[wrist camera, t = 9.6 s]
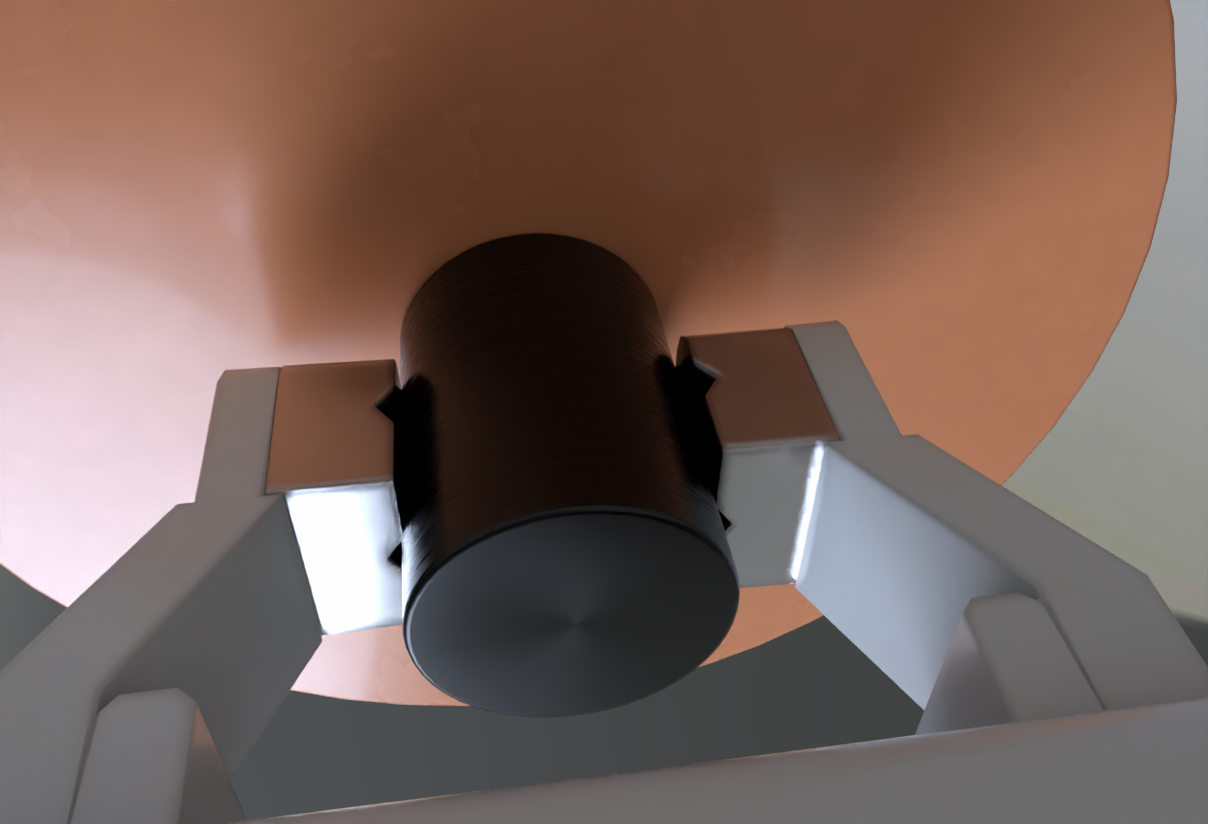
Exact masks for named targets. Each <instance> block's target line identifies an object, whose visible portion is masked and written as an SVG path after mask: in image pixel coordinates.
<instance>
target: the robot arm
mask: <svg viewBox="0 0 1208 824" xmlns="http://www.w3.org/2000/svg"><path fill="white" fill-rule="evenodd" d="M675 368H676V372H677V375H678V378H679V381H680V385H681V388H682V391H683V395H684V398H685V401H686V405H687V408H688V411H689V415H690V418H691V421H692V425H693V428H694V431H695V434H696V438H697V441H698V444H699V448H700V451H701V454H702V458H703V461H704V464H705V468H706V471H707V474H708V478H709V481H710V484H711V487H712V491H713V494H714V497H715V501H716V504H717V507H718V511H719V514H720V517H721V521H722V524H723V527H724V531H725V534H726V537H727V540H728V544H729V547H730V550H731V554H732V557H733V560H734V564H735V567H736V570H737V574H738V577H739V585H740V588H749V587H761V586H773V585H785V584H796V586H795V588H796V589H797V590H798V591H799V592H800V593H801V594H802V595H803V596H804V597H805V598H806V599H808V600H809V601H810V602H811V603H812V604H813V605H814V606H815V607H816V608H817V609H818V610H819V611H820V612H821V613H822V614H823V615H824V616H825V617H827V618H828V619H829V620H830V621H831V622H832V623H833V624H834V625H835V626H836V627H837V628H838V629H839V630H840V631H841V632H843V634H844V635H845V636H847V637H848V638H849V639H850V640H851V641H852V642H853V643H854V644H855V645H856V646H857V647H858V648H859V649H860V650H861V651H862V652H863V653H865V654H866V655H867V656H868V657H869V658H870V659H871V660H872V661H873V662H874V663H875V664H876V665H877V666H878V667H879V668H880V669H881V670H882V671H884V672H885V673H886V674H887V675H888V676H889V677H890V678H891V679H892V680H893V681H894V682H895V683H896V684H897V685H898V686H899V687H900V688H901V689H903V691H905V692H906V693H907V694H908V695H909V696H910V697H911V698H912V699H913V700H914V701H915V702H916V703H917V704H918V705H919V706H920V707H922V708H923V710H924V713H923V716H922V718H921V721H920V723H919V726H918V728H917V731H916V733H915V735H913V736H905V737H898V738H890V739H882V740H874V741H867V742H859V743H851V744H843V745H836V746H828V747H820V748H813V749H805V750H797V751H789V752H782V753H774V754H766V755H758V756H751V757H743V758H736V759H727V760H719V761H711V762H704V763H696V764H688V765H680V766H672V767H664V768H656V769H649V770H641V771H633V772H625V773H617V774H609V775H602V776H593V777H585V778H577V779H570V780H562V781H554V782H546V783H538V784H531V785H523V786H515V787H507V788H499V789H491V790H483V791H475V792H468V793H459V794H452V795H444V796H436V797H428V798H420V799H412V800H405V801H397V802H389V803H381V804H373V805H366V806H358V807H350V808H342V809H334V810H327V811H318V812H311V813H303V814H295V815H287V816H280V817H272V818H264V819H257V820H248V821H247V818H246V816H245V814H244V812H243V809H242V807H241V805H240V802H239V800H238V798H237V796H236V793H235V791H234V788H233V786H232V784H231V781H230V779H231V778H232V776H233V775H234V773H235V772H236V770H237V769H238V767H239V766H240V764H241V763H242V761H243V760H244V758H245V757H246V755H247V754H248V752H249V751H250V749H251V748H252V746H253V745H254V743H255V742H256V740H257V739H258V737H259V736H260V734H261V733H262V731H263V730H264V728H265V727H266V725H267V724H268V722H269V721H270V719H271V718H272V716H273V715H274V713H275V712H276V710H277V709H278V707H279V706H280V704H281V703H282V701H283V699H284V698H285V697H286V695H287V694H288V692H289V690H290V689H291V688H292V686H293V685H294V683H295V682H296V680H297V679H298V677H299V676H300V674H301V673H302V671H303V670H304V668H305V667H306V665H307V664H308V662H309V661H310V659H311V658H312V656H313V655H314V653H315V652H316V650H317V649H318V647H319V646H320V644H321V643H322V637H321V636H322V635H329V634H337V633H344V632H351V631H359V630H366V629H374V628H381V627H388V626H396V625H402V536H403V475H402V469H401V443H402V391H401V384H400V379H399V373H398V368H397V364H396V361H395V359H385V360H368V361H352V362H335V363H318V364H301V365H284V366H283V368H282V367H263V368H248V369H234V370H225V371H224V372H223V374H222V375H221V377H220V378H219V379H218V381H217V385H216V390H215V396H214V401H213V406H212V411H211V417H210V422H209V427H208V433H207V438H206V443H205V449H204V454H203V459H202V465H201V470H200V475H199V480H198V486H197V491H196V496H195V502H192V503H183V504H176V505H175V506H174V507H173V508H172V509H171V510H170V511H169V512H168V513H167V514H166V515H165V516H164V517H163V518H162V519H161V520H160V521H158V522H157V523H156V524H155V525H154V526H153V527H152V528H151V529H150V530H149V531H148V532H147V533H146V534H145V535H144V536H143V537H142V538H141V539H139V540H138V541H137V542H136V543H135V544H134V545H133V546H132V547H131V548H130V549H129V550H128V551H127V552H126V553H125V554H124V555H123V556H122V557H120V558H119V559H118V560H117V561H116V562H115V563H114V564H113V565H112V566H111V567H110V568H109V569H108V570H107V571H106V572H105V573H104V574H103V575H101V576H100V577H99V578H98V579H97V580H96V581H95V582H94V583H93V584H92V585H91V586H90V587H89V588H88V589H87V590H86V591H85V592H84V593H82V594H81V595H80V596H79V597H78V598H77V599H76V600H75V601H74V602H73V603H72V604H71V605H70V606H69V607H68V608H67V609H66V610H64V612H62V613H61V614H60V615H59V616H58V617H57V618H56V619H55V620H54V621H53V622H52V623H51V624H50V625H49V626H48V627H47V628H45V629H44V630H43V631H42V632H41V633H40V634H39V635H38V636H37V637H36V638H35V639H34V640H33V641H32V642H31V643H30V644H29V645H28V646H26V647H25V648H24V649H23V650H22V651H21V652H20V653H19V654H18V655H17V656H16V657H15V658H14V659H13V660H12V661H11V662H10V663H9V664H7V665H6V666H5V667H4V668H3V669H2V670H1V671H0V824H1208V667H1207V665H1206V664H1205V663H1204V661H1203V659H1202V658H1201V656H1200V655H1199V653H1198V652H1197V650H1196V649H1195V647H1194V646H1193V644H1192V643H1191V641H1190V640H1189V638H1188V637H1187V635H1186V634H1185V632H1184V631H1183V629H1182V627H1181V626H1180V624H1179V623H1178V621H1177V620H1176V618H1175V617H1174V615H1173V614H1172V612H1171V611H1170V609H1169V608H1168V606H1167V605H1166V603H1165V602H1164V600H1163V599H1162V597H1161V596H1160V594H1159V592H1158V591H1157V589H1156V588H1155V586H1154V585H1153V583H1152V582H1151V580H1150V579H1149V577H1148V576H1147V575H1146V574H1144V573H1143V572H1141V571H1140V570H1138V569H1136V568H1135V567H1133V566H1131V565H1130V564H1128V563H1126V562H1125V561H1123V560H1122V559H1120V558H1118V557H1117V556H1115V555H1113V554H1112V553H1110V552H1109V551H1107V550H1105V549H1104V548H1102V547H1100V546H1099V545H1097V544H1095V543H1094V542H1092V541H1091V540H1089V539H1087V538H1086V537H1084V536H1082V535H1081V534H1079V533H1078V532H1076V531H1074V530H1073V529H1071V528H1069V527H1068V526H1066V525H1064V524H1063V523H1061V522H1060V521H1058V520H1056V519H1055V518H1053V517H1051V516H1050V515H1048V514H1046V513H1045V512H1043V511H1042V510H1040V509H1038V508H1037V507H1035V506H1033V505H1032V504H1030V503H1029V502H1027V501H1025V500H1024V499H1022V498H1020V497H1019V496H1017V495H1015V494H1014V493H1012V492H1011V491H1009V490H1007V489H1006V488H1004V487H1002V486H1001V485H999V484H998V483H996V482H994V481H993V480H991V479H989V478H988V477H986V476H984V475H983V474H981V473H980V472H978V471H976V470H975V469H973V468H971V467H970V466H968V465H967V464H965V463H963V462H962V461H960V460H958V459H957V458H955V457H953V456H952V455H950V454H949V453H947V452H945V451H944V450H942V449H940V448H939V447H937V446H936V445H934V444H932V443H931V442H929V441H927V440H926V439H924V438H922V437H921V436H919V435H918V434H914V435H901V433H900V431H899V429H898V427H897V425H896V423H895V421H894V419H893V417H892V415H891V414H890V412H889V410H888V408H887V406H886V404H885V402H884V400H883V398H882V396H881V394H880V392H879V390H878V388H877V387H876V385H875V383H874V381H873V379H872V377H871V375H870V373H869V371H868V369H867V367H866V365H865V363H864V361H863V360H862V358H861V356H860V354H859V352H858V350H857V348H856V346H855V344H854V342H853V340H852V338H851V336H850V334H849V333H848V331H847V329H846V327H845V326H844V325H843V324H842V323H840V322H839V321H837V320H834V321H825V322H815V323H806V324H796V325H787V326H785V327H784V328H769V329H758V330H746V331H735V332H723V333H712V334H700V335H689V336H680V339H679V343H678V347H677V354H676V365H675Z"/></svg>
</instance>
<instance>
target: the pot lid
mask: <svg viewBox="0 0 1208 824" xmlns="http://www.w3.org/2000/svg"><path fill="white" fill-rule="evenodd" d="M1176 104H1177V92H1176V67H1175V41H1174V19H1173V14H1172V9H1171V4H1170V0H0V565H1V566H3V567H5V568H6V569H7V570H8V571H10V572H11V573H13V574H14V575H15V576H17V577H18V578H20V579H21V580H23V581H24V582H25V583H27V584H28V585H30V586H31V587H32V588H34V589H35V590H37V591H39V592H40V593H42V594H44V595H46V596H47V597H49V598H52V599H53V600H54V601H57V602H58V603H60V604H61V605H63V606H65V607H67V608H68V607H69V606H70V605H71V604H72V603H73V602H74V601H75V600H76V599H77V598H78V597H79V596H80V595H81V594H82V593H84V592H85V591H86V590H87V589H88V588H89V587H90V586H91V585H92V584H93V583H94V582H95V581H96V580H97V579H98V578H99V577H100V576H101V575H103V574H104V573H105V572H106V571H107V570H108V569H109V568H110V567H111V566H112V565H113V564H114V563H115V562H116V561H117V560H118V559H119V558H120V557H122V556H123V555H124V554H125V553H126V552H127V551H128V550H129V549H130V548H131V547H132V546H133V545H134V544H135V543H136V542H137V541H138V540H139V539H141V538H142V537H143V536H144V535H145V534H146V533H147V532H148V531H149V530H150V529H151V528H152V527H153V526H154V525H155V524H156V523H157V522H158V521H160V520H161V519H162V518H163V517H164V516H165V515H166V514H167V513H168V512H169V511H170V510H171V509H172V508H173V507H174V506H175V505H176V504H183V503H192V502H195V496H196V491H197V486H198V480H199V475H200V470H201V465H202V459H203V454H204V449H205V443H206V438H207V433H208V427H209V422H210V417H211V411H212V406H213V401H214V396H215V390H216V385H217V381H218V379H219V378H220V377H221V375H222V374H223V372H224V371H225V370H234V369H248V368H263V367H282V368H283V366H284V365H301V364H318V363H335V362H352V361H368V360H385V359H395V361H396V364H397V368H398V373H399V379H400V384H401V391H402V443H401V469H402V475H403V536H402V625H396V626H388V627H381V628H374V629H366V630H359V631H351V632H344V633H337V634H329V635H322V636H321V637H322V643H321V644H320V646H319V647H318V649H317V650H316V652H315V653H314V655H313V656H312V658H311V659H310V661H309V662H308V664H307V665H306V667H305V668H304V670H303V671H302V673H301V674H300V676H299V677H298V679H297V680H296V682H295V683H294V685H293V686H292V688H291V689H290V690H293V691H299V692H304V693H310V694H316V695H322V696H327V697H333V698H339V699H348V700H359V701H369V702H380V703H391V704H402V705H448V706H473V707H475V708H479V709H483V710H486V711H490V712H494V713H500V714H506V715H512V716H523V717H564V716H575V715H582V714H590V713H594V712H599V711H604V710H609V709H612V708H616V707H619V706H623V705H626V704H629V703H632V702H635V701H637V700H640V699H643V698H646V697H648V696H650V695H652V694H655V693H657V692H659V691H661V690H663V689H665V688H667V687H669V686H670V685H672V684H674V683H676V682H678V681H679V680H681V679H682V678H684V677H685V676H687V675H688V674H689V673H691V672H692V671H694V670H695V669H696V668H697V667H701V666H704V665H707V664H709V663H712V662H715V661H718V660H720V659H723V658H726V657H728V656H731V655H734V654H737V653H740V652H742V651H745V650H748V649H751V648H753V647H756V646H758V645H761V644H763V643H765V642H768V641H769V640H772V639H774V638H776V637H778V636H781V635H783V634H785V633H787V632H790V631H792V630H794V629H796V628H798V627H800V626H803V625H805V624H807V623H809V622H812V621H814V620H815V619H817V618H819V617H821V616H823V614H822V613H821V612H820V611H819V610H818V609H817V608H816V607H815V606H814V605H813V604H812V603H811V602H810V601H809V600H808V599H806V598H805V597H804V596H803V595H802V594H801V593H800V592H799V591H798V590H797V589H796V588H795V586H796V584H785V585H773V586H761V587H749V588H740V585H739V577H738V574H737V570H736V567H735V564H734V560H733V557H732V554H731V550H730V547H729V544H728V540H727V537H726V534H725V531H724V527H723V524H722V521H721V517H720V514H719V511H718V507H717V504H716V501H715V497H714V494H713V491H712V487H711V484H710V481H709V478H708V474H707V471H706V468H705V464H704V461H703V458H702V454H701V451H700V448H699V444H698V441H697V438H696V434H695V431H694V428H693V425H692V421H691V418H690V415H689V411H688V408H687V405H686V401H685V398H684V395H683V391H682V388H681V385H680V381H679V378H678V375H677V372H676V368H675V365H676V354H677V347H678V343H679V339H680V336H689V335H700V334H712V333H723V332H735V331H746V330H758V329H769V328H784V327H785V326H787V325H796V324H806V323H815V322H825V321H834V320H837V321H839V322H840V323H842V324H843V325H844V326H845V327H846V329H847V331H848V333H849V334H850V336H851V338H852V340H853V342H854V344H855V346H856V348H857V350H858V352H859V354H860V356H861V358H862V360H863V361H864V363H865V365H866V367H867V369H868V371H869V373H870V375H871V377H872V379H873V381H874V383H875V385H876V387H877V388H878V390H879V392H880V394H881V396H882V398H883V400H884V402H885V404H886V406H887V408H888V410H889V412H890V414H891V415H892V417H893V419H894V421H895V423H896V425H897V427H898V429H899V431H900V433H901V435H914V434H918V435H919V436H921V437H922V438H924V439H926V440H927V441H929V442H931V443H932V444H934V445H936V446H937V447H939V448H940V449H942V450H944V451H945V452H947V453H949V454H950V455H952V456H953V457H955V458H957V459H958V460H960V461H962V462H963V463H965V464H967V465H968V466H970V467H971V468H973V469H975V470H976V471H978V472H980V473H981V474H983V475H984V476H986V477H988V478H989V479H991V480H993V481H994V482H996V483H998V484H999V485H1002V484H1003V483H1004V482H1005V481H1006V480H1007V479H1008V478H1009V477H1010V476H1012V474H1013V473H1014V472H1015V471H1016V470H1017V469H1018V467H1019V466H1020V465H1021V464H1022V463H1023V462H1024V461H1025V459H1026V458H1027V457H1028V456H1029V455H1030V454H1031V452H1032V451H1033V450H1034V449H1035V448H1036V447H1037V446H1038V444H1039V443H1040V442H1041V441H1042V440H1043V439H1044V437H1045V436H1046V435H1047V434H1048V433H1049V432H1050V430H1051V429H1052V428H1053V427H1054V426H1055V424H1056V423H1057V421H1058V420H1059V419H1060V417H1061V416H1062V414H1063V413H1064V411H1065V410H1066V409H1067V407H1068V406H1069V404H1070V403H1071V401H1072V400H1073V398H1074V397H1075V396H1076V394H1077V393H1078V391H1079V390H1080V388H1081V387H1082V386H1083V384H1084V383H1085V381H1086V380H1087V378H1088V377H1089V376H1090V374H1091V373H1092V371H1093V369H1094V367H1095V365H1096V364H1097V362H1098V360H1099V358H1100V356H1101V354H1102V353H1103V351H1104V349H1105V347H1106V345H1107V343H1108V342H1109V340H1110V338H1111V336H1112V334H1113V332H1114V331H1115V329H1116V327H1117V325H1118V323H1119V321H1120V320H1121V318H1122V316H1123V314H1124V312H1125V310H1126V307H1127V305H1128V302H1129V300H1130V297H1131V295H1132V292H1133V290H1134V287H1135V285H1136V282H1137V280H1138V277H1139V275H1140V272H1141V270H1142V267H1143V265H1144V262H1145V260H1146V257H1147V255H1148V252H1149V249H1150V247H1151V243H1152V239H1153V235H1154V231H1155V227H1156V223H1157V219H1158V215H1159V211H1160V208H1161V204H1162V200H1163V196H1164V192H1165V188H1166V184H1167V180H1168V176H1169V167H1170V158H1171V149H1172V140H1173V131H1174V122H1175V113H1176Z"/></svg>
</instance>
